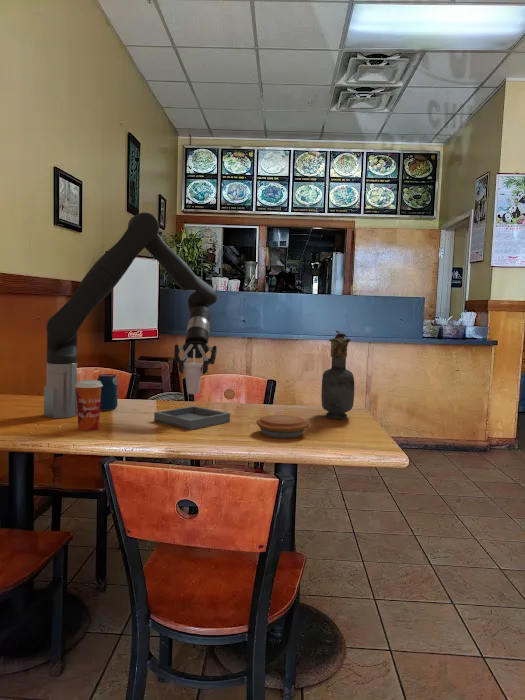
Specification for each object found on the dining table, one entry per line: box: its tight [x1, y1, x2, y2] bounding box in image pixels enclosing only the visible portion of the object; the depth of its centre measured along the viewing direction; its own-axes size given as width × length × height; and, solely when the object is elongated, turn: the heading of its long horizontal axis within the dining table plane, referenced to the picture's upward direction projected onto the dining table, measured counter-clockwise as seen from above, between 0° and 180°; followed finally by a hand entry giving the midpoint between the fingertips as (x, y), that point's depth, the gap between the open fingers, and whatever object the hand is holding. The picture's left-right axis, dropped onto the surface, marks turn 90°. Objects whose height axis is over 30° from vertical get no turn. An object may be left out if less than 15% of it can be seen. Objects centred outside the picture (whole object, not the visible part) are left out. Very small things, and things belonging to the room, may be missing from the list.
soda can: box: [96, 373, 119, 411], centre depth 183 cm, size 7×7×12 cm
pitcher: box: [320, 330, 355, 420], centre depth 182 cm, size 11×19×30 cm, turn 176°
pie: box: [255, 414, 310, 440], centre depth 154 cm, size 15×16×5 cm
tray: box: [153, 405, 231, 431], centre depth 167 cm, size 17×17×3 cm
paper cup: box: [75, 379, 103, 432], centre depth 153 cm, size 8×8×14 cm
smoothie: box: [183, 349, 203, 395], centre depth 166 cm, size 6×6×14 cm
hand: (192, 372), depth 164 cm, fingers closed on smoothie, 6 cm apart
